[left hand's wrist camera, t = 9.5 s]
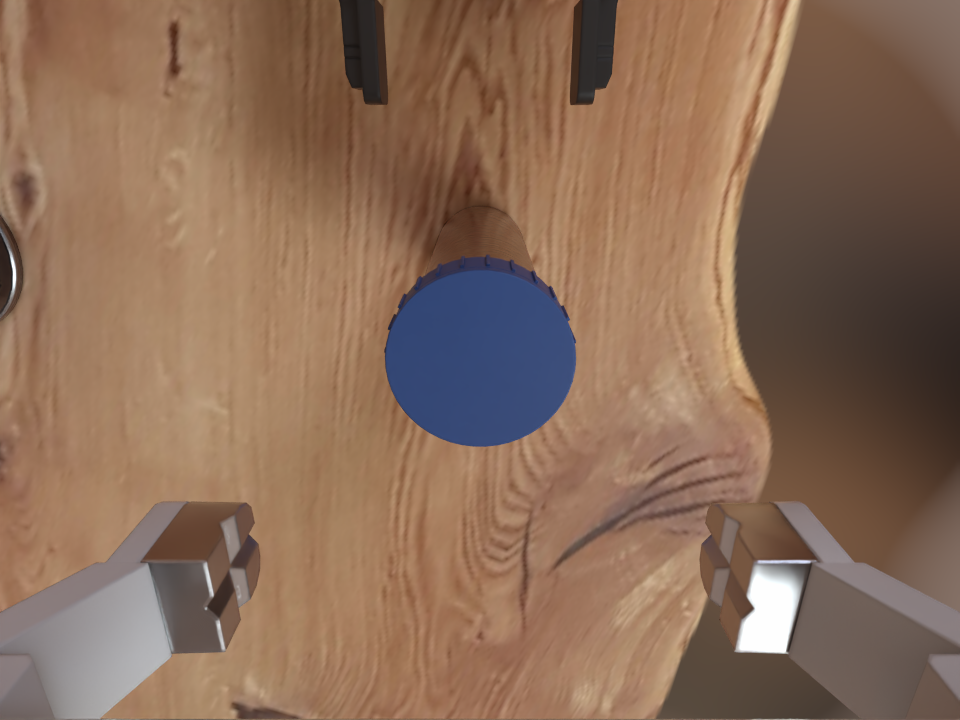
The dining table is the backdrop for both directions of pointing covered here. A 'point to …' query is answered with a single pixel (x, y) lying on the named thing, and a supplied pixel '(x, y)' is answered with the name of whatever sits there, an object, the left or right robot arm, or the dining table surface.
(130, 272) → the dining table surface
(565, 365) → the lid
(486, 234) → the jar
